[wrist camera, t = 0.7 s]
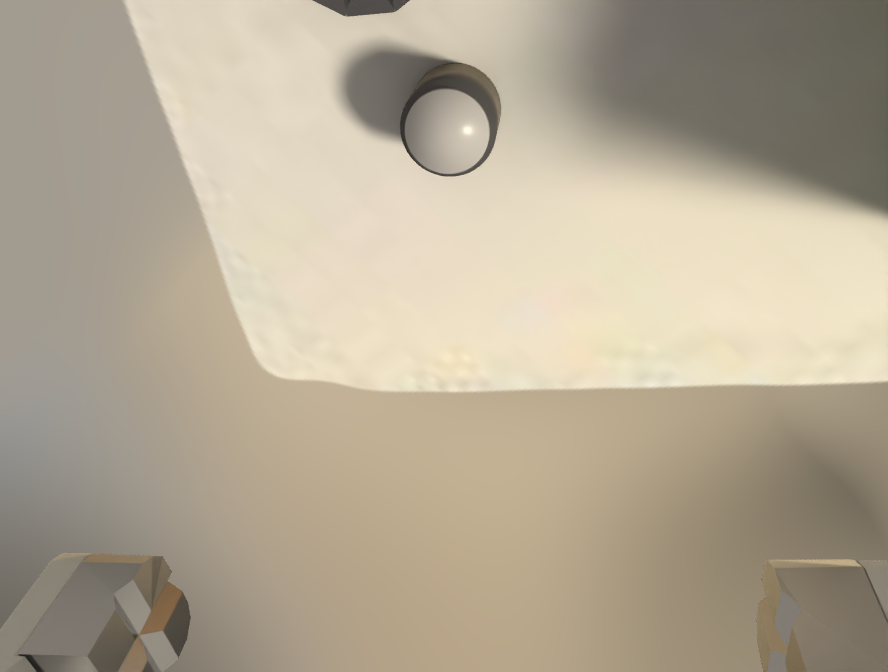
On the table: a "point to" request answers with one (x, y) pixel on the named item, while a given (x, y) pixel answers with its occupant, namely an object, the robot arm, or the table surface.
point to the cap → (451, 120)
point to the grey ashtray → (362, 6)
